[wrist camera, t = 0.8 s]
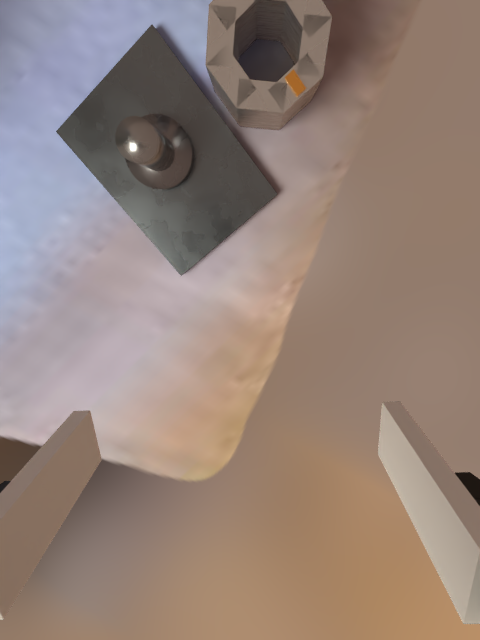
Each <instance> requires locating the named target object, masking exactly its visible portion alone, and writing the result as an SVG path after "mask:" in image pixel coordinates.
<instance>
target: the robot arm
mask: <svg viewBox="0 0 480 640" xmlns="http://www.w3.org/2000/svg"><path fill="white" fill-rule="evenodd" d="M378 455H379V457H380V459H381V461H382V463H383V465H384V467H385V469H386V471H387V473H388V475H389V477H390V479H391V481H392V483H393V485H394V487H395V489H396V491H397V493H398V495H399V497H400V499H401V501H402V503H403V505H404V507H405V509H406V511H407V513H408V515H409V517H410V519H411V520H412V522H413V524H414V527H415V529H416V531H417V533H418V535H419V537H420V538H421V540H422V542H423V544H424V546H425V548H426V550H427V552H428V554H429V556H430V558H431V560H432V562H433V564H434V566H435V568H436V570H437V572H438V574H439V576H440V578H441V580H442V582H443V584H444V586H445V588H446V590H447V592H448V594H449V596H450V598H451V600H452V602H453V604H454V606H455V608H456V610H457V612H458V614H459V616H460V618H461V620H462V622H463V624H480V479H478V478H477V477H476V476H474V475H473V474H471V473H470V472H468V473H465V472H463V473H454V472H453V471H452V469H451V468H450V467H449V465H448V464H447V462H446V461H445V460H444V458H443V457H442V456H441V455H440V453H439V452H438V451H437V449H436V448H435V447H434V445H433V444H432V443H431V441H430V440H429V439H428V438H427V436H426V435H425V433H424V432H423V431H422V430H421V428H420V427H419V426H418V424H417V423H416V422H415V420H414V419H413V418H412V416H411V415H410V414H409V412H408V411H407V410H406V409H405V407H404V406H403V405H402V403H401V402H400V401H398V402H382V411H381V423H380V435H379V447H378ZM101 460H102V459H101V455H100V451H99V447H98V442H97V438H96V434H95V429H94V425H93V421H92V417H91V412H90V411H74V412H73V413H72V414H71V415H70V416H69V417H68V418H67V419H66V421H65V422H64V423H63V424H62V425H61V426H60V427H59V428H58V429H57V431H56V432H55V433H54V434H53V435H52V436H51V437H50V438H49V439H48V441H47V442H46V443H45V444H44V445H43V446H42V447H41V448H40V450H39V451H38V452H37V453H36V454H35V455H34V456H33V457H32V458H31V460H30V461H29V462H28V463H27V464H26V465H25V466H24V467H23V469H22V470H21V471H20V472H19V473H18V474H17V475H16V476H15V477H14V478H13V480H12V481H4V482H3V483H1V484H0V620H3V619H4V618H5V616H6V615H7V613H8V612H9V610H10V608H11V607H12V605H13V603H14V602H15V600H16V598H17V597H18V595H19V594H20V592H21V590H22V589H23V587H24V585H25V584H26V582H27V580H28V579H29V577H30V576H31V574H32V572H33V570H34V569H35V567H36V566H37V564H38V563H39V561H40V559H41V558H42V556H43V554H44V553H45V551H46V550H47V548H48V546H49V545H50V543H51V541H52V540H53V538H54V536H55V535H56V533H57V532H58V530H59V528H60V527H61V525H62V523H63V522H64V520H65V518H66V517H67V515H68V514H69V512H70V510H71V509H72V507H73V505H74V504H75V502H76V501H77V499H78V497H79V496H80V494H81V492H82V491H83V489H84V487H85V486H86V484H87V482H88V481H89V479H90V478H91V476H92V474H93V473H94V471H95V469H96V468H97V466H98V464H99V463H100V461H101Z"/></svg>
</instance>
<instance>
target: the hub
mask: <svg viewBox="0 0 480 640" xmlns="http://www.w3.org/2000/svg"><path fill="white" fill-rule="evenodd" d="M331 21H332V16H331V14H330V12H329V11H328V9H327V7H326V6H325V4H324V2H323V1H322V0H213V1H212V2H211V3H210V4H209V16H208V33H207V51H206V67H207V70H208V73H209V76H210V79H211V82H212V85H213V88H214V91H215V93H216V94H217V95H218V97H219V98H220V100H221V101H222V102H223V104H224V105H225V106H226V108H227V109H228V111H229V112H230V113H231V115H232V116H233V117H234V119H235V120H236V122H237V123H238V124H239V126H241V127H251V128H261V129H271V130H280V129H281V128H282V127H283V126H284V125H285V124H286V123H287V122H288V121H290V120H291V119H292V118H293V117H294V116H295V115H296V114H297V113H298V112H300V111H301V110H302V109H303V108H304V107H305V106H306V105H307V104H308V103H310V102H311V100H312V98H313V96H314V94H315V92H316V90H317V88H318V86H319V84H320V82H321V80H322V78H323V74H324V67H325V61H326V54H327V47H328V41H329V34H330V28H331ZM257 39H263V40H273V41H280V42H281V43H282V45H283V46H284V48H285V49H286V51H287V53H288V54H289V56H290V57H291V59H292V60H293V62H294V66H293V67H292V68H291V69H290V70H289V71H288V72H287V73H286V74H285V75H284V76H283V77H282V78H281V79H279V80H278V81H277V82H270V81H260V80H250V79H249V78H248V76H247V75H246V73H245V72H244V70H243V69H242V67H241V66H240V65H239V57H240V56H241V55H242V54H243V53H244V52H245V51H246V50H247V49H248V48H249V47H250V46H251V45H252V44H253V43H254V42H255V41H256V40H257Z"/></svg>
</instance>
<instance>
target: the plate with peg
mask: <svg viewBox="0 0 480 640" xmlns="http://www.w3.org/2000/svg"><path fill="white" fill-rule="evenodd" d="M56 132H57V133H58V134H59V136H60V137H61V138H62V139H63V140H64V141H65V142H66V144H67V145H68V146H69V147H70V148H71V149H72V151H73V152H74V153H75V154H76V155H77V156H78V157H79V159H80V160H81V161H82V162H83V163H84V164H85V165H86V167H87V168H88V169H89V170H90V171H91V172H92V174H93V175H94V176H95V177H96V178H97V179H98V180H99V182H100V183H101V184H102V185H103V186H104V187H105V189H106V190H107V191H108V192H109V193H110V194H111V195H112V197H113V198H114V199H115V200H116V201H117V202H118V204H119V205H120V206H121V207H122V208H123V209H124V210H125V212H126V213H127V214H128V215H129V216H130V217H131V219H132V220H133V221H134V222H135V223H136V224H137V225H138V227H139V228H140V229H141V230H142V231H143V232H144V233H145V235H146V236H147V237H148V238H149V239H150V240H151V242H152V243H153V244H154V245H155V246H156V247H157V248H158V250H159V251H160V252H161V253H162V254H163V255H164V257H165V258H166V259H167V260H168V261H169V262H170V263H171V265H172V266H173V267H174V268H175V269H176V270H177V272H178V273H179V274H180V275H181V276H182V275H183V274H184V273H185V272H186V271H188V270H189V269H190V268H191V267H192V266H193V265H195V264H196V263H197V262H198V261H199V260H201V259H202V258H203V257H204V256H205V255H206V254H208V253H209V252H210V251H211V250H212V249H214V248H215V247H216V246H217V245H218V244H219V243H221V242H222V241H223V240H224V239H225V238H227V237H228V236H229V235H230V234H231V233H232V232H234V231H235V230H236V229H237V228H238V227H239V226H241V225H242V224H243V223H244V222H245V221H247V220H248V219H249V218H250V217H251V216H252V215H254V214H255V213H256V212H257V211H258V210H260V209H261V208H262V207H263V206H264V205H265V204H267V203H268V202H269V201H270V200H271V199H273V198H274V197H275V196H276V195H277V193H276V192H275V190H274V189H273V188H272V186H271V185H270V184H269V182H268V181H267V180H266V178H265V177H264V176H263V174H262V173H261V171H260V170H259V169H258V167H257V166H256V165H255V163H254V162H253V161H252V159H251V158H250V157H249V155H248V154H247V152H246V151H245V150H244V148H243V147H242V146H241V144H240V143H239V142H238V140H237V139H236V137H235V136H234V135H233V133H232V132H231V131H230V129H229V128H228V127H227V125H226V124H225V123H224V121H223V120H222V118H221V117H220V116H219V114H218V113H217V112H216V110H215V109H214V108H213V106H212V105H211V104H210V102H209V101H208V99H207V98H206V97H205V95H204V94H203V93H202V91H201V90H200V89H199V87H198V86H197V85H196V83H195V82H194V80H193V79H192V78H191V76H190V75H189V74H188V72H187V71H186V70H185V68H184V67H183V66H182V64H181V63H180V61H179V60H178V59H177V57H176V56H175V55H174V53H173V52H172V51H171V49H170V48H169V47H168V45H167V44H166V42H165V41H164V40H163V38H162V37H161V36H160V34H159V33H158V32H157V30H156V29H155V27H154V26H153V25H151V26H150V27H149V28H148V29H147V31H146V32H145V33H144V34H143V35H142V36H141V37H140V38H139V40H138V41H137V42H136V43H135V44H134V45H133V46H132V47H131V48H130V50H129V51H128V52H127V53H126V54H125V55H124V56H123V57H122V59H121V60H120V61H119V62H118V63H117V64H116V65H115V66H114V67H113V69H112V70H111V71H110V72H109V73H108V74H107V75H106V76H105V78H104V79H103V80H102V81H101V82H100V83H99V84H98V85H97V86H96V88H95V89H94V90H93V91H92V92H91V93H90V94H89V95H88V96H87V98H86V99H85V100H84V101H83V102H82V103H81V104H80V105H79V107H78V108H77V109H76V110H75V111H74V112H73V113H72V114H71V115H70V117H69V118H68V119H67V120H66V121H65V122H64V123H63V124H62V126H61V127H60V128H59V129H58V130H57V131H56Z"/></svg>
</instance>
